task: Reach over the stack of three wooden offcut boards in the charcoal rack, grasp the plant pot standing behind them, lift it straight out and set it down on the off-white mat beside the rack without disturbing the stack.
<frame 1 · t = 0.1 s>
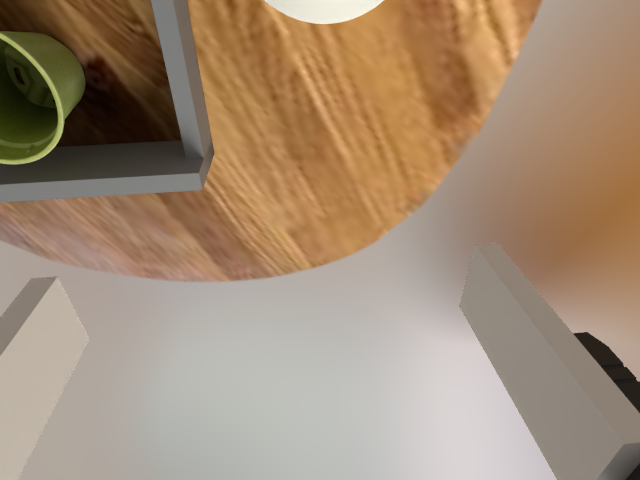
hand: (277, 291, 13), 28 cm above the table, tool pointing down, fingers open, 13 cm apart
plant pot: (47, 71, 34), on the table
rack: (25, 18, 31), on the table
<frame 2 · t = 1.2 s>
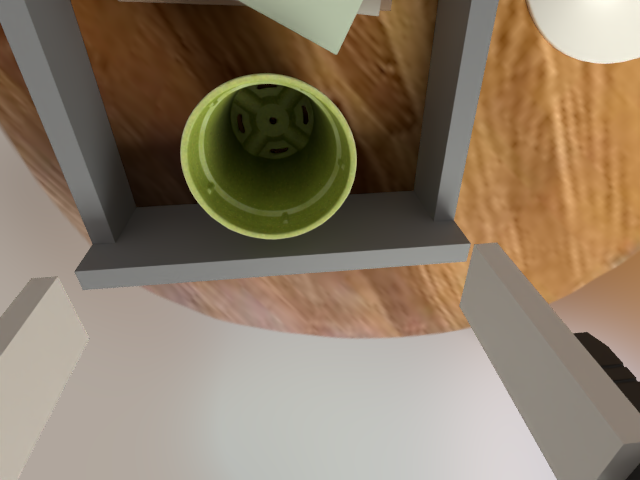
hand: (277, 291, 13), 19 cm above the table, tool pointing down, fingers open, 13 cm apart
plant pot: (271, 117, 28), on the table
rack: (266, 58, 26), on the table
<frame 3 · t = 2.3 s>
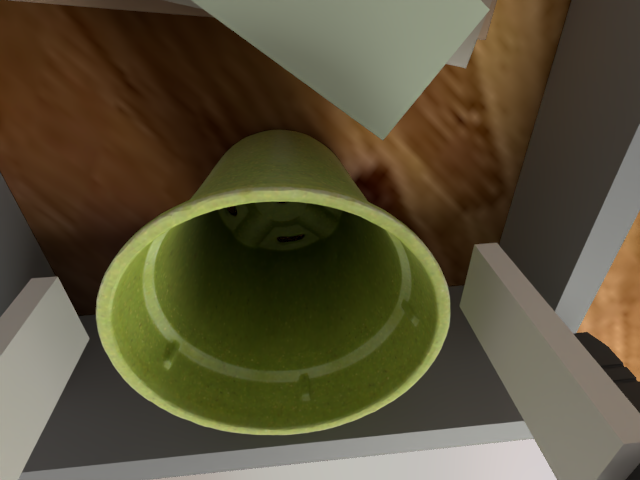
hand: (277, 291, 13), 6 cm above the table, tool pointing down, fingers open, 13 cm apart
plant pot: (279, 191, 18), on the table
rack: (271, 104, 15), on the table
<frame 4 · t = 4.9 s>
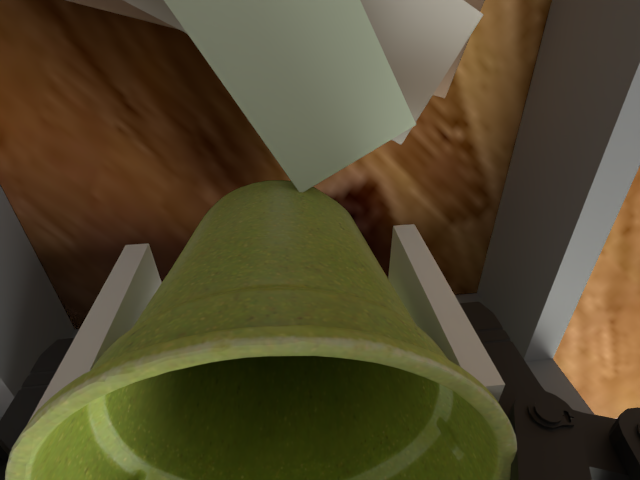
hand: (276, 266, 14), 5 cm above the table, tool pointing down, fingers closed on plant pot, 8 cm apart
plant pot: (277, 248, 15), point 4 cm above the table, touching gripper
rack: (264, 123, 16), on the table
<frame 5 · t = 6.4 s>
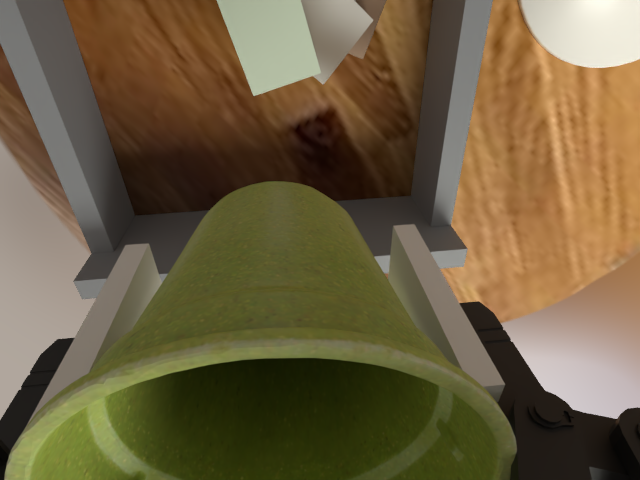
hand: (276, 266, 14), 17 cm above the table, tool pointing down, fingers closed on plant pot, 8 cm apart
plant pot: (276, 249, 15), point 16 cm above the table, touching gripper
rack: (262, 67, 26), on the table
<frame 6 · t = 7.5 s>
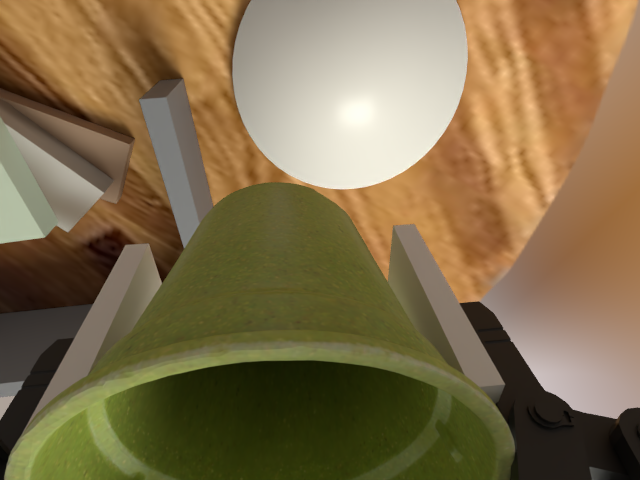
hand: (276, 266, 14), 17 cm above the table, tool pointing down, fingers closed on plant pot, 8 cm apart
plant pot: (276, 250, 15), point 16 cm above the table, touching gripper
offcut bottom: (10, 122, 27), on the table, touching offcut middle
rack: (40, 202, 30), on the table
mat: (350, 81, 27), on the table
when the fingers open (3 cm above the table, at t = 10.9 s): plant pot drops 1 cm, resting on mat.
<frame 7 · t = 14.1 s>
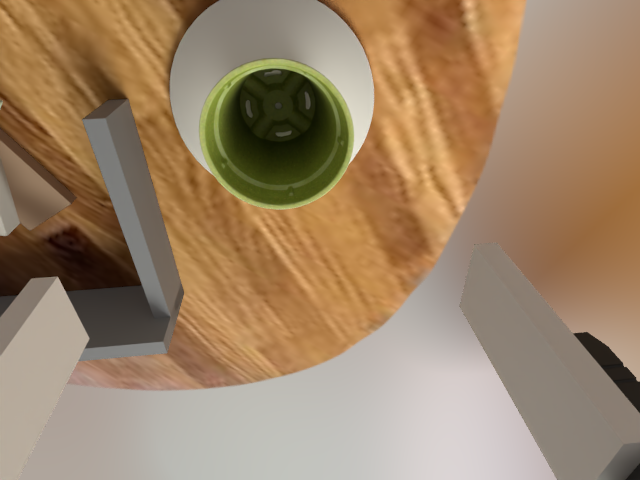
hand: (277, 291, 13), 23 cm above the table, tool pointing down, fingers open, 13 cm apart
plant pot: (276, 103, 31), resting on mat
rack: (4, 201, 34), on the table
mat: (274, 104, 32), on the table
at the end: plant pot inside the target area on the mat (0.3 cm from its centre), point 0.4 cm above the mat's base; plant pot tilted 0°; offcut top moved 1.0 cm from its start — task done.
